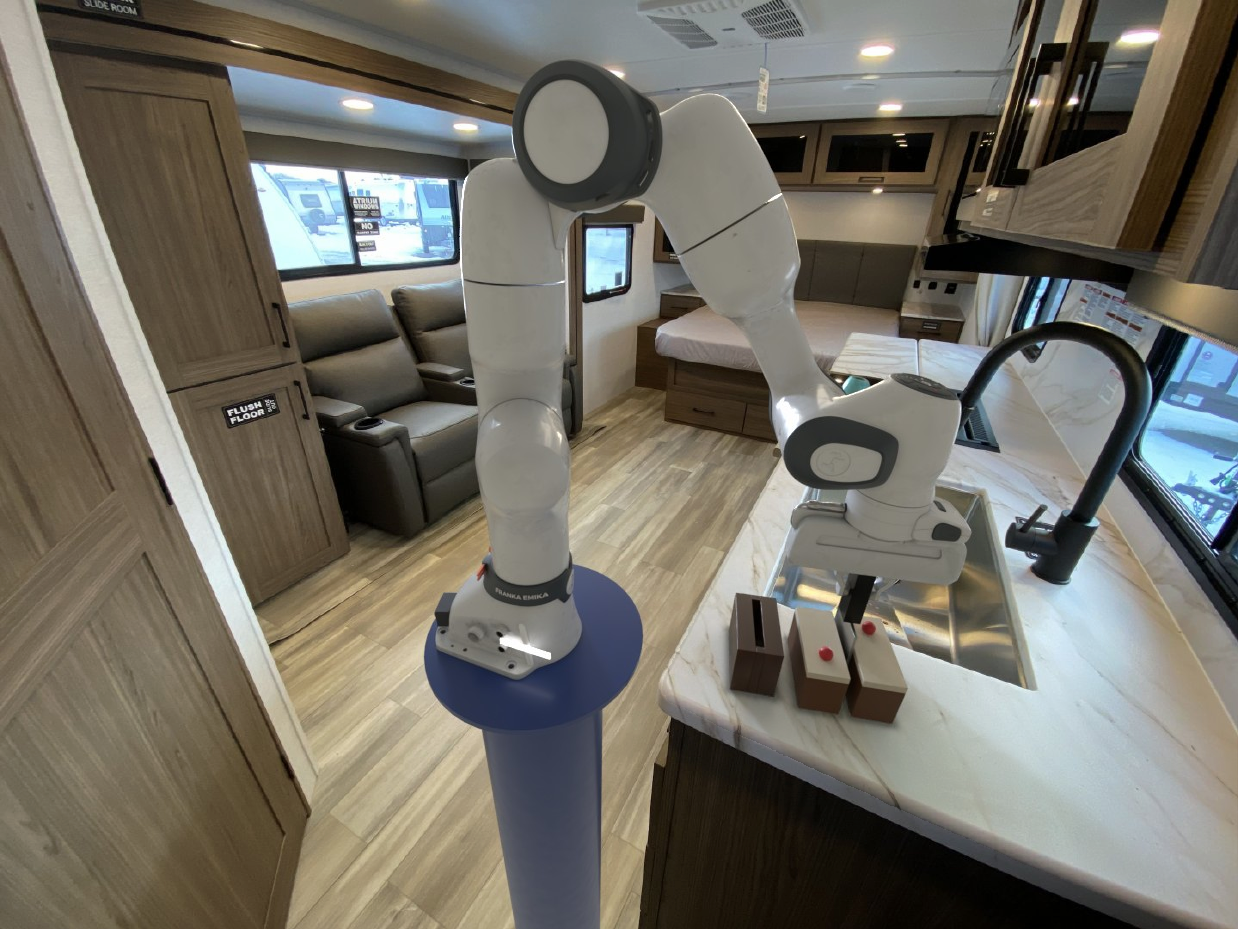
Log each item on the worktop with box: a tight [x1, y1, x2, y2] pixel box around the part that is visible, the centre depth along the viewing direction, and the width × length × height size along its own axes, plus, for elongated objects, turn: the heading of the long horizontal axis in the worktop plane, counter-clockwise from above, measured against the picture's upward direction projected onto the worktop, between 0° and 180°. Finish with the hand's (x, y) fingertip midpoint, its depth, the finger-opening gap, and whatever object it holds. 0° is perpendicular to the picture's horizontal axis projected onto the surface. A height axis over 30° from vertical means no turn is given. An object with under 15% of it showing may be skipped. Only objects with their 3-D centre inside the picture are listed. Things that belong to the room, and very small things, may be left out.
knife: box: [834, 573, 877, 667], centre depth 68 cm, size 2×8×19 cm, turn 170°
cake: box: [786, 605, 909, 725], centre depth 69 cm, size 12×12×8 cm
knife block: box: [728, 592, 785, 698], centre depth 71 cm, size 6×11×8 cm, turn 170°
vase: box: [841, 375, 871, 395], centre depth 143 cm, size 12×12×18 cm
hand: (856, 595), depth 66 cm, fingers closed on knife, 2 cm apart
